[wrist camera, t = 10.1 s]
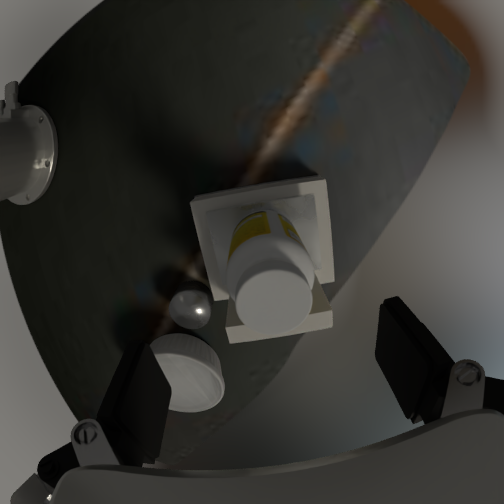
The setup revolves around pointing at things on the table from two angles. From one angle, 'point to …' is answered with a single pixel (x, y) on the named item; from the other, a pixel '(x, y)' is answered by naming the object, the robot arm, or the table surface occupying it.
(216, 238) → the pan
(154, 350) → the ramekin
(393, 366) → the robot arm
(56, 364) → the table surface
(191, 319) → the shiny gray ball
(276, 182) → the scale housing
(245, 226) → the supplement bottle
